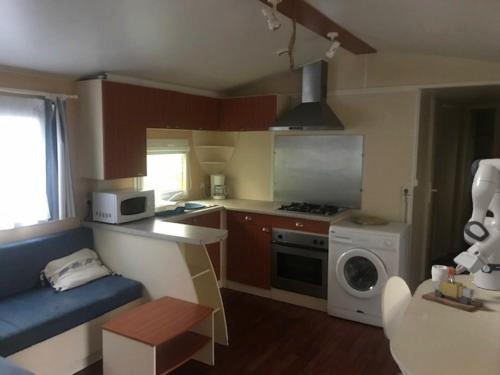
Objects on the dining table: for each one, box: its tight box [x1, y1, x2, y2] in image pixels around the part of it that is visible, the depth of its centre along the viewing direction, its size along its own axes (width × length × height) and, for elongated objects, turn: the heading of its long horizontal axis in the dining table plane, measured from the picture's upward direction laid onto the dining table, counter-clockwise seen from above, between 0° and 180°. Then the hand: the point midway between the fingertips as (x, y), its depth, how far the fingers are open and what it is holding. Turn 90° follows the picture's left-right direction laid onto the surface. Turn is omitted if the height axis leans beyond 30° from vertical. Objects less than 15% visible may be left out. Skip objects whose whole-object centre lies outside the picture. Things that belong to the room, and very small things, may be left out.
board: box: [421, 290, 484, 313], centre depth 199 cm, size 14×23×2 cm, turn 38°
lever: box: [447, 266, 456, 283], centre depth 203 cm, size 13×3×5 cm, turn 160°
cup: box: [431, 264, 450, 282], centre depth 220 cm, size 9×9×12 cm
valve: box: [432, 279, 474, 305], centre depth 198 cm, size 6×18×8 cm, turn 38°
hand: (455, 272), depth 205 cm, fingers closed
